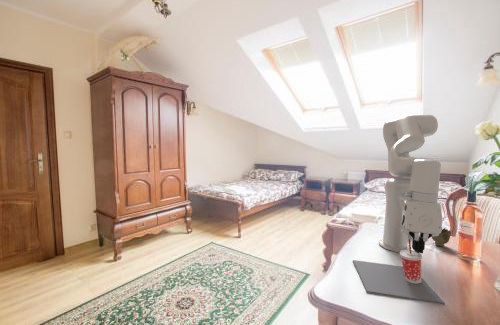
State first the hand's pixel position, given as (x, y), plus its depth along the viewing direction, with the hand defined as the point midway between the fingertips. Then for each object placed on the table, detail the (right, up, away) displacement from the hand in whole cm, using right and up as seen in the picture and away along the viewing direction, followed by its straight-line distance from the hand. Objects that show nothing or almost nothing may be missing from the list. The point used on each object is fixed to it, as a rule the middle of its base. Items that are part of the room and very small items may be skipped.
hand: (417, 251), depth 77 cm
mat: (-7, -11, +2) cm, 13 cm away
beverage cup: (-1, -10, +1) cm, 10 cm away
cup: (+34, -10, +32) cm, 48 cm away
